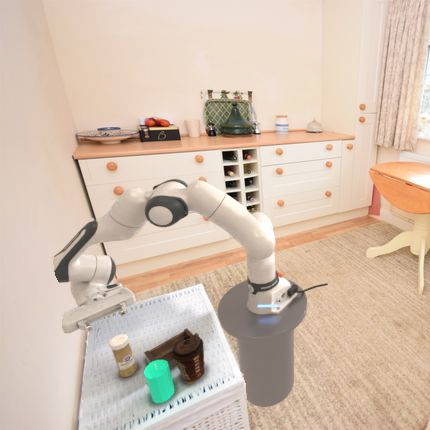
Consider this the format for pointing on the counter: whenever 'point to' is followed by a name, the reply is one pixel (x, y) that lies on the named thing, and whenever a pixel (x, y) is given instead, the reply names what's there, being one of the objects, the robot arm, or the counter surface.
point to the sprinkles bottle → (123, 355)
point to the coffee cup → (189, 357)
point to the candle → (159, 381)
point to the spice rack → (165, 346)
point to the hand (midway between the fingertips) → (107, 321)
